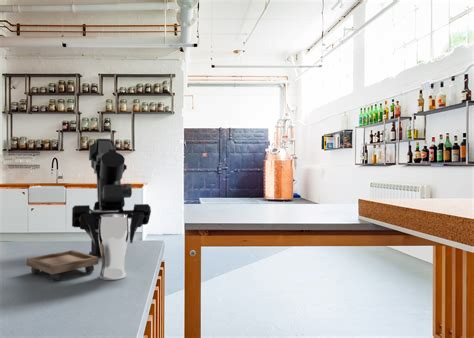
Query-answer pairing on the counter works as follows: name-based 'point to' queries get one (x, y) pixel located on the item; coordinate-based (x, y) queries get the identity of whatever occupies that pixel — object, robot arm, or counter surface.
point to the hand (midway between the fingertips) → (114, 243)
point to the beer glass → (113, 245)
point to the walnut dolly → (62, 263)
